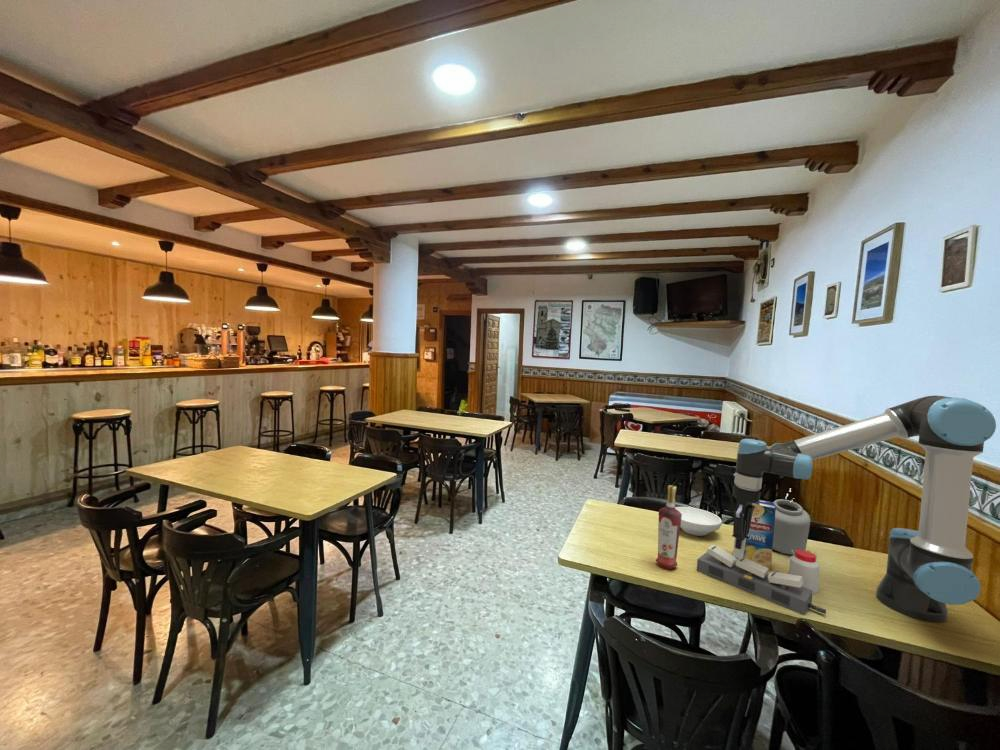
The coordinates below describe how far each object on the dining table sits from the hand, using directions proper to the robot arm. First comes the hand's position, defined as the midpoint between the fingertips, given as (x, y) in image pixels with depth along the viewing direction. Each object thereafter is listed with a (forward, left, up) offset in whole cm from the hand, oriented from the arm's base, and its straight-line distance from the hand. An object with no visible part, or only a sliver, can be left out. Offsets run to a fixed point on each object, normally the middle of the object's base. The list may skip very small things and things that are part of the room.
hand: (738, 556), depth 132 cm
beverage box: (+1, -19, -8) cm, 21 cm away
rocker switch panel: (-6, 0, -8) cm, 10 cm away
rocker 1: (+5, 0, -2) cm, 5 cm away
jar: (-4, -40, -8) cm, 41 cm away
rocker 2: (-4, 0, -2) cm, 4 cm away
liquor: (+19, +10, -8) cm, 23 cm away
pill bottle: (-15, -14, -8) cm, 22 cm away
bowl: (+25, -28, -8) cm, 38 cm away
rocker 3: (-13, 0, -2) cm, 13 cm away
